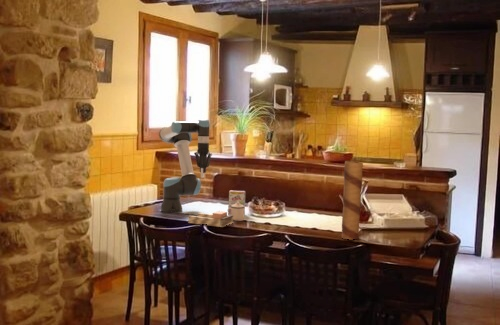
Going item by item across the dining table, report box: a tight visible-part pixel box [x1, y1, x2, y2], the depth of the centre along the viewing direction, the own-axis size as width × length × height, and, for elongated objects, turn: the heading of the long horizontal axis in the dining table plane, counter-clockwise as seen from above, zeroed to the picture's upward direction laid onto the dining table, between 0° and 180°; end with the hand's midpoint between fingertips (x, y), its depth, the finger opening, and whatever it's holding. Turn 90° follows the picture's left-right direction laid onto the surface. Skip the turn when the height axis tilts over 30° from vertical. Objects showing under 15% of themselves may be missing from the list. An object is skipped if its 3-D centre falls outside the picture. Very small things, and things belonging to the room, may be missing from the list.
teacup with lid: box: [227, 202, 245, 222], centre depth 381 cm, size 12×9×12 cm
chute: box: [187, 212, 234, 228], centre depth 366 cm, size 25×14×5 cm, turn 64°
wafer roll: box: [341, 160, 364, 241], centre depth 331 cm, size 10×11×45 cm
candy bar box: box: [227, 189, 246, 216], centre depth 397 cm, size 11×5×16 cm, turn 84°
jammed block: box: [212, 210, 228, 219], centre depth 363 cm, size 6×8×6 cm
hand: (202, 177), depth 386 cm, fingers closed
